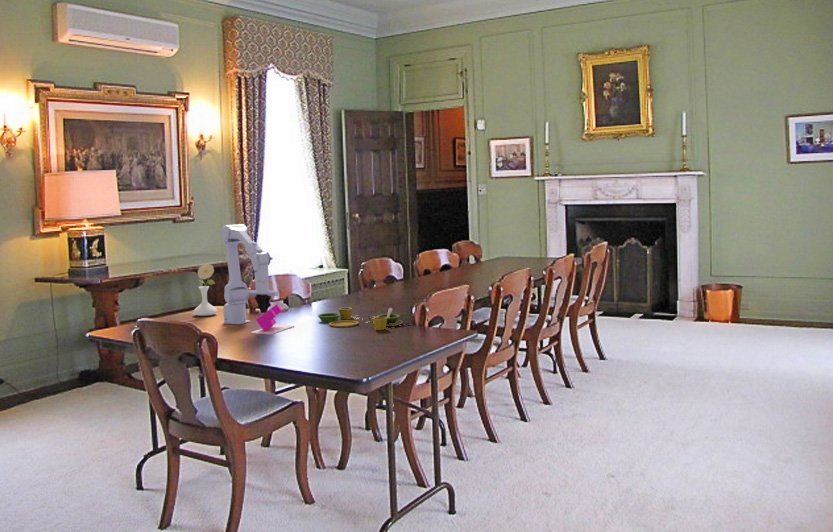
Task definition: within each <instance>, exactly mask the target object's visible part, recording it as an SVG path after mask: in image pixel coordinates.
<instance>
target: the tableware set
mask: <svg viewBox="0 0 833 532" xmlns="http://www.w3.org/2000/svg"><path fill="white" fill-rule="evenodd" d="M338 311H339V312H337V313H336V312H327V313H326V312H324V313H319V314H317V317H318V318H319V319H320V321H321V322H322V323H328V325H329V326H331V327H334V328H350V327H355V326H358V325H359V321H356V320H357V319H359V318H360V317H357V318H356V316H352V311H353V308H352V307H340V308H338ZM392 313H393V308H392V307H389V308H388V311H387V314H386V313H385V314H378V315H377V316H373V317H374V318H372V321H373V323H372V324H373V328H374V331H376V330H384V329H386V330H387V327H386V326H392V325H398V324H401V325H403V323H404V322H403V320H400V319H399V318H401V315H400V314H395V313H393V314H392ZM351 317H353V319H355V318H356V319H355V320H351ZM339 318H340V320H339ZM361 321H364V320H363V318H362V320H361ZM396 321H399V322H400V323H397V324H389V323H395V322H396ZM368 322H369V321H365V322H364V324H369V323H368ZM384 331H385V330H384Z"/></svg>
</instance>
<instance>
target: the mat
mask: <svg viewBox="0 0 833 532" xmlns="http://www.w3.org/2000/svg"><path fill="white" fill-rule="evenodd" d="M294 327H295V325H286V324H285V325H284V324H275V325H273V326H272V327H271V328H269V329H268V330H266V331H265V332H264V331H263V329H262V328H260V329H257V330H253V331H251V332H250V334H252V335H253V334H256V335H267V336H268V335H275V334H277V333H280V332H284V331H286V330H288V329H292V328H294Z"/></svg>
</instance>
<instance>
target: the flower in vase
mask: <svg viewBox="0 0 833 532" xmlns="http://www.w3.org/2000/svg"><path fill="white" fill-rule="evenodd" d="M214 272H215V269H214V266H213V265H212V264H211V263H210V264H209V263H204V264H203V265H200V266H199V267H198V270H197V275H198V278H199V279H198V281H199V282H201V283H202V284H204V285H203V286H202V285H201V286H198V289H199V290H200V294H201V302H200V304H199V305H198V306H197V307H195V309H194V310H193V311H192V314H193V315H195V316H199V317H206V316H207V317H208V316H214V315H216V314H217V313H218V309H217V308H216V307H215V306H213V305H212V304H211V303H209V302H208V290H209V288H210V286H211V285H215V284H216V282H215V281H214V280H213V279H210V278H211V277H212V276H213V274H214ZM200 279H202V280H207V281H206V283H205V282H204V281H202V280H200ZM207 285H208V286H207ZM209 285H210V286H209Z"/></svg>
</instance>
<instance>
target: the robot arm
mask: <svg viewBox="0 0 833 532" xmlns="http://www.w3.org/2000/svg"><path fill="white" fill-rule="evenodd" d="M248 234H249V233H248V227H247V225H245V224H244V223H241V224H224V225H223V226H222V229H221V240H222V244H223V245H224V246H225V250H226V251H225V252H226V254H225V255H226V260H227V268H228V276H229V277H228V278H229V282H228V283H227V284H226V285H225V286H224V293H223V297H224V300H225V302H226V303H225V304H224V305H223V309H222V310H223V313H222V314H223V322H222V324H227V325H242V324H247V323H249V322H251V320H248V319H247V311H246V303H247V302H248V300H249V299H250V296H254V300H255V301H256V303H257V306H258V307H259V312H260V314H264V313H265V312H267V311H268V310H267V308H268V304H269V303H270V300H271V297H279V291H278V290H271V289H270V280H269V265H270V264H271V255H270V253H269V252H268V251H265V250H262V248H261V247H260V246H259V244H258V243H257V241H252V238H251V237H250V236H249V235H248ZM240 243H241V244H242V245H243V246H244V247H245V248H244V250H245V253H247V254H248V256H249V257H250V259H251V260H250V262H251V265H252V269H253V271H254V285H255V290H254V289H253V290H249V288H248V286H247V284H246V283H245V282H244V281H242V274H241V267H240V258H239V250H238V245H239V244H240Z"/></svg>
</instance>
